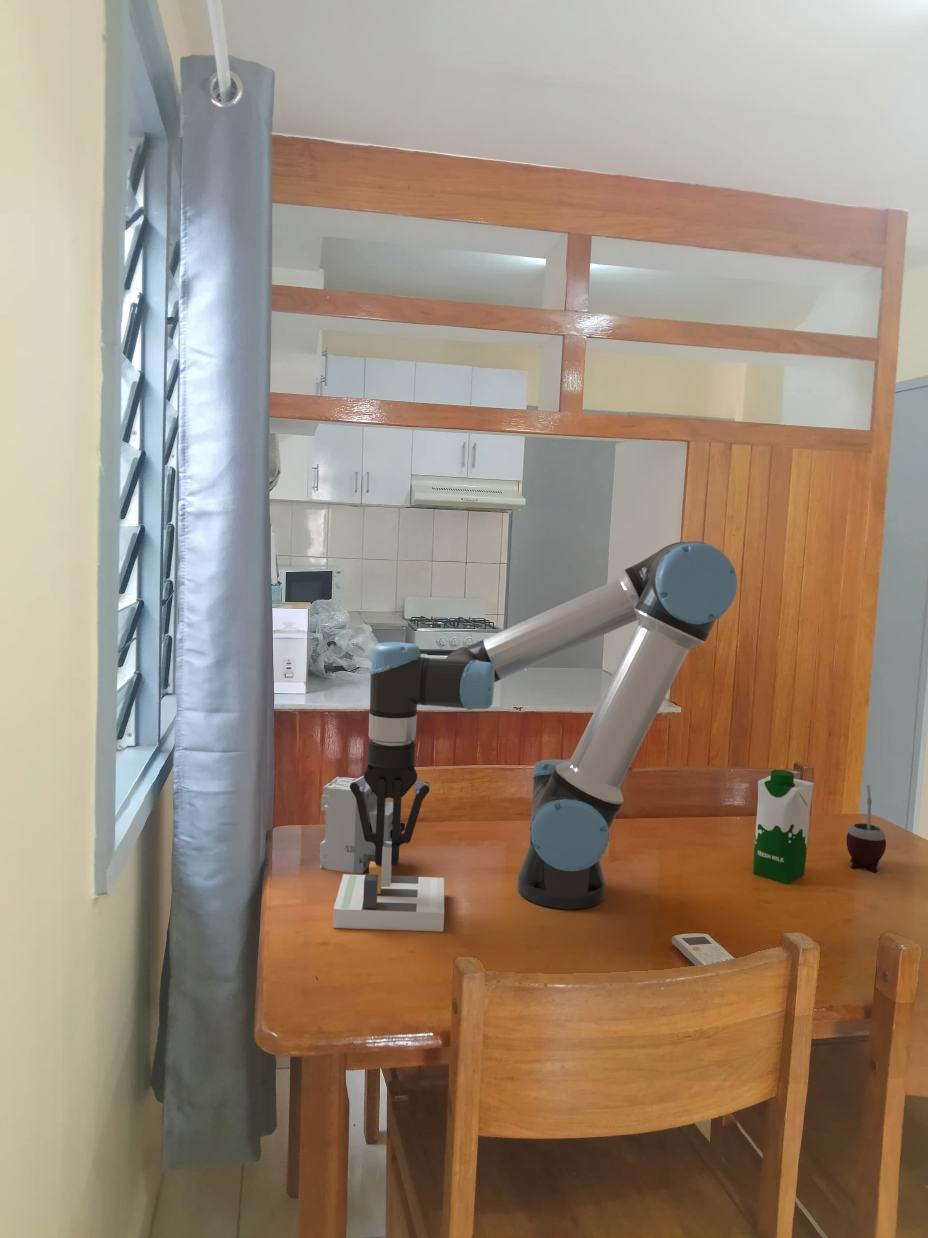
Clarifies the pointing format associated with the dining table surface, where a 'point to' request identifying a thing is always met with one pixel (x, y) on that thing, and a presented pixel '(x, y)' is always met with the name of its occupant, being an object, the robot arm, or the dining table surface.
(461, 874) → the dining table surface
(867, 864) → the mate gourd
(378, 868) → the block
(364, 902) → the block
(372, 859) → the block
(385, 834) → the circuit breaker
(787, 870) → the milk carton
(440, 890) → the panel
